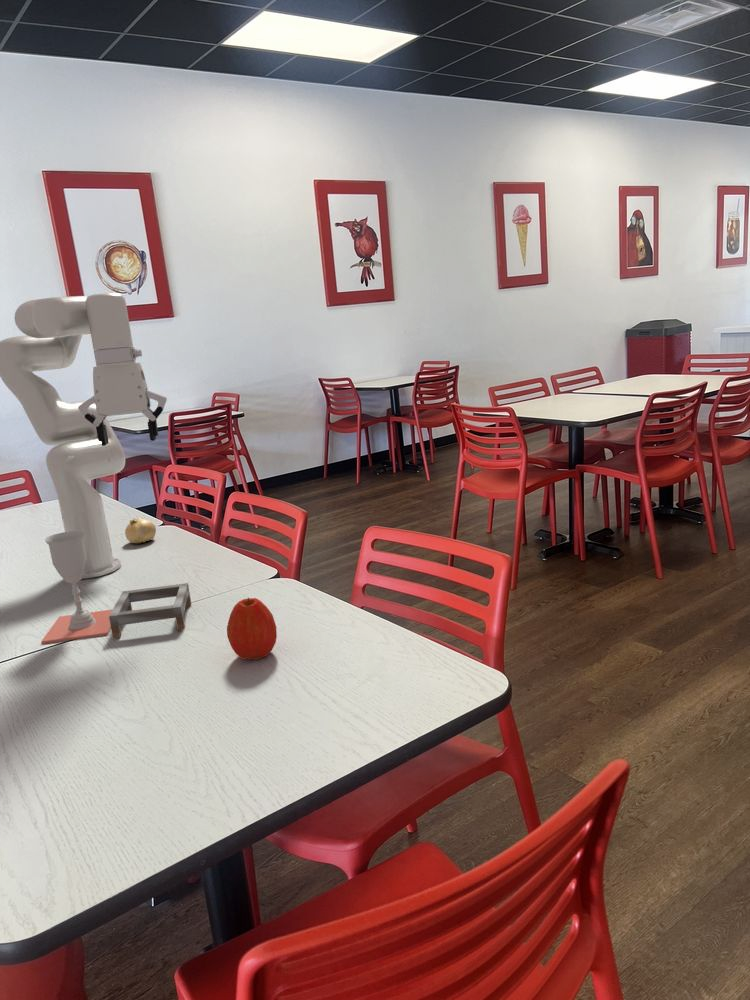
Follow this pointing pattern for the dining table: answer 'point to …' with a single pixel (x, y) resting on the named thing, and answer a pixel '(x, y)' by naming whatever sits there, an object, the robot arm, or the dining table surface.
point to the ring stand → (126, 615)
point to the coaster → (64, 633)
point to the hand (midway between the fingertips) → (129, 442)
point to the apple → (251, 629)
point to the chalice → (71, 570)
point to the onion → (140, 530)
